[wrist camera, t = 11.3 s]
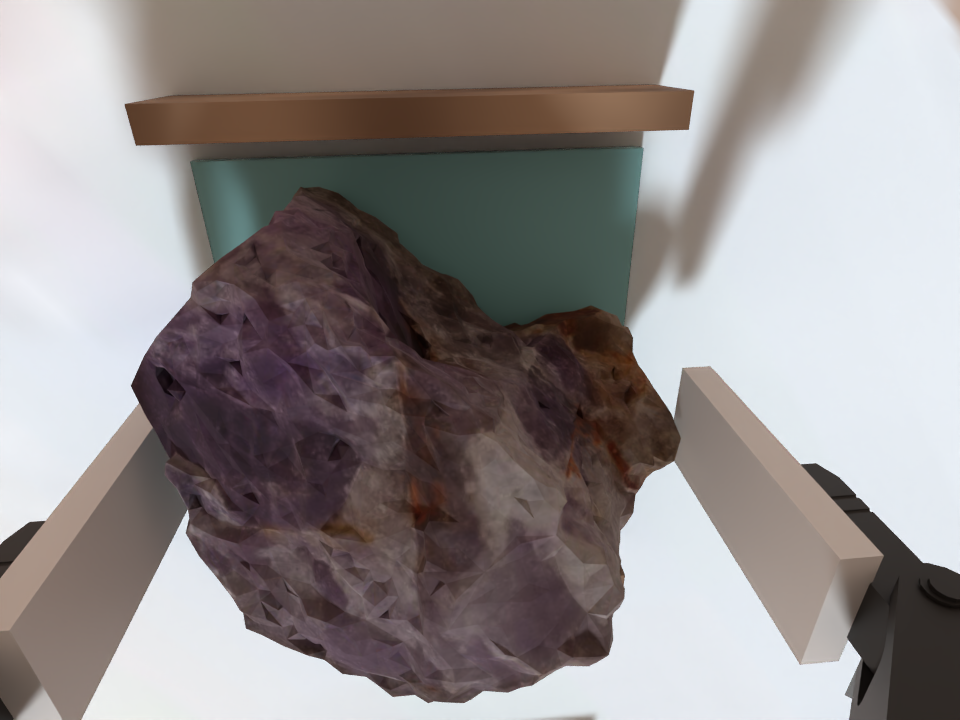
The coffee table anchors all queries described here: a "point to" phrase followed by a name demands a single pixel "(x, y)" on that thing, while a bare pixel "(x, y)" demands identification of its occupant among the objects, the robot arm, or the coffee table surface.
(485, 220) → the marked pad
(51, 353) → the coffee table surface
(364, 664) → the rock
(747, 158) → the coffee table surface
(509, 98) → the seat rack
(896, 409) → the coffee table surface
